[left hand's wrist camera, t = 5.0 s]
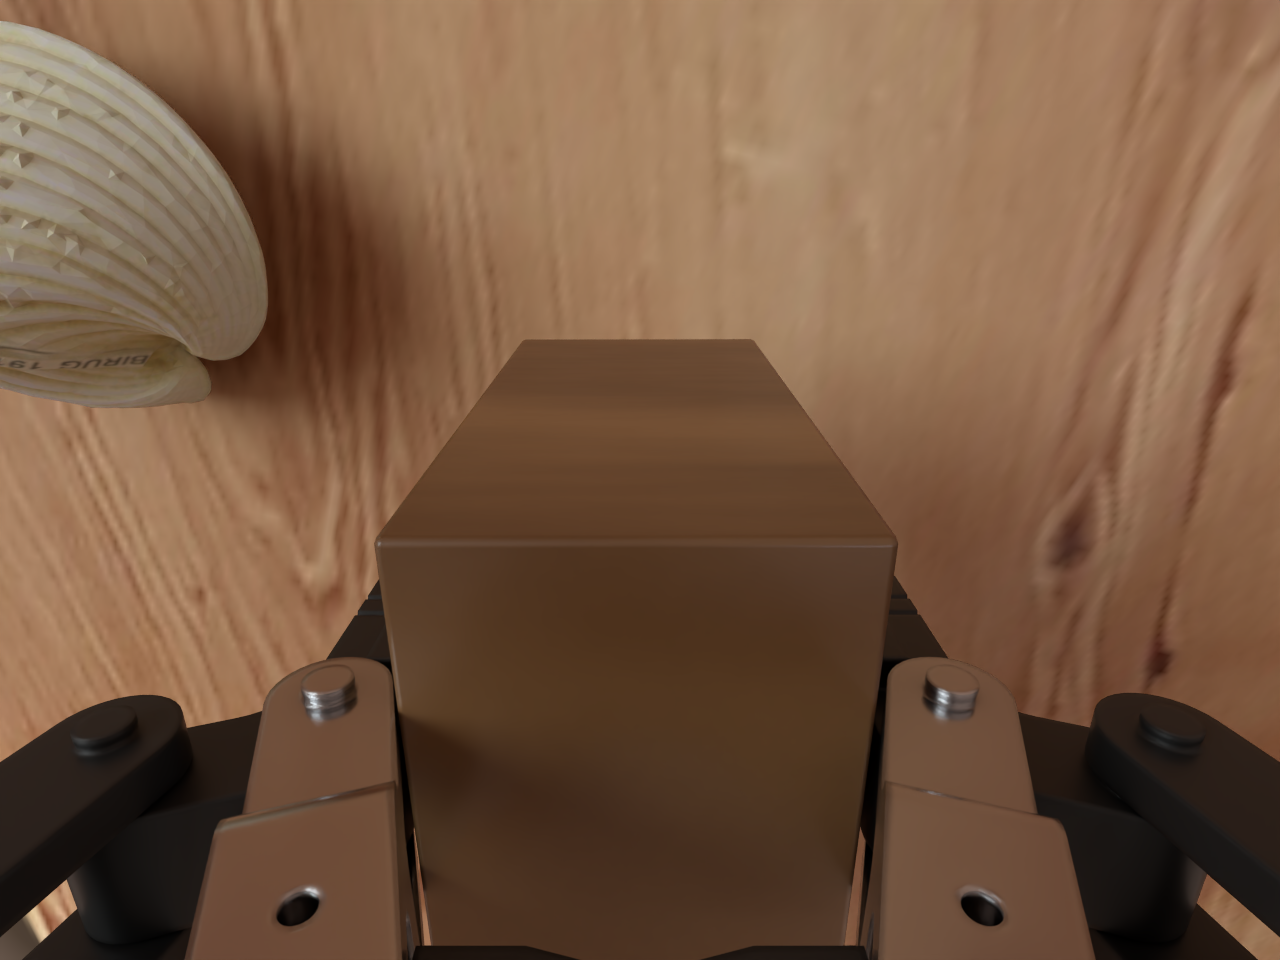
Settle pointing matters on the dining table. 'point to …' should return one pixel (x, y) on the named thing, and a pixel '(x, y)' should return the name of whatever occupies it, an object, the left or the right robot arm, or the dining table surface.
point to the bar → (637, 657)
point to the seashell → (113, 236)
